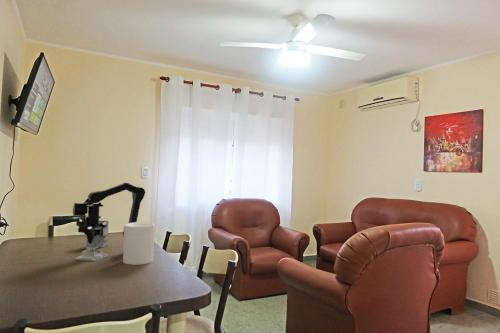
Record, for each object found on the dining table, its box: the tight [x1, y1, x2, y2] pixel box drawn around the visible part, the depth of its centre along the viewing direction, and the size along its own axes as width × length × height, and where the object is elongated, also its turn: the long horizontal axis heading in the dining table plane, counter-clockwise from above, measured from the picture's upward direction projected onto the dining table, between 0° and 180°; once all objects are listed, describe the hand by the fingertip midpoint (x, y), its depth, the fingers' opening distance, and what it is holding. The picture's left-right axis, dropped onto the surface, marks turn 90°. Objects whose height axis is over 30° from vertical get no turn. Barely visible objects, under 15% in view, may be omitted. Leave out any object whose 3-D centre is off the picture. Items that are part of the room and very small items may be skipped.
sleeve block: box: [74, 248, 109, 262], centre depth 188 cm, size 12×12×4 cm
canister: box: [122, 221, 156, 266], centre depth 186 cm, size 16×16×20 cm
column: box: [85, 235, 99, 250], centre depth 188 cm, size 4×4×7 cm
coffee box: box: [98, 219, 109, 248], centre depth 216 cm, size 9×6×16 cm
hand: (92, 242), depth 188 cm, fingers closed on column, 4 cm apart
